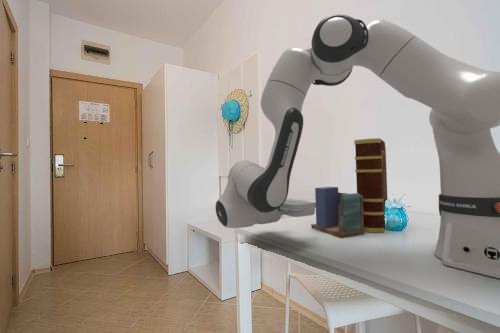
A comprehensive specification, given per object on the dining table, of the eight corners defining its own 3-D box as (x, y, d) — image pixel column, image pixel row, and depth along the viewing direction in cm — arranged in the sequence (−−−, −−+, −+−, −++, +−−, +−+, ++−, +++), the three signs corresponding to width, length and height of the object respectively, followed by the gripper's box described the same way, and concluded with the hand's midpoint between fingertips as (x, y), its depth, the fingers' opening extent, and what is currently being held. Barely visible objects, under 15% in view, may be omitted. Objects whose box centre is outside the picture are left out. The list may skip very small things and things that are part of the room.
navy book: (339, 224, 90) (338, 187, 90) (325, 228, 86) (324, 188, 86) (330, 222, 93) (328, 186, 93) (316, 225, 89) (315, 188, 89)
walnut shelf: (364, 234, 81) (362, 193, 81) (341, 238, 78) (340, 195, 78) (331, 224, 95) (330, 190, 95) (311, 227, 92) (310, 191, 92)
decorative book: (383, 234, 81) (380, 137, 81) (356, 231, 85) (353, 139, 85) (388, 220, 100) (385, 142, 100) (366, 218, 104) (363, 143, 104)
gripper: (292, 200, 68) (328, 195, 75) (249, 194, 85) (282, 191, 92) (292, 224, 68) (329, 217, 75) (250, 213, 85) (283, 208, 92)
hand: (303, 203), depth 84 cm, fingers open, 8 cm apart
